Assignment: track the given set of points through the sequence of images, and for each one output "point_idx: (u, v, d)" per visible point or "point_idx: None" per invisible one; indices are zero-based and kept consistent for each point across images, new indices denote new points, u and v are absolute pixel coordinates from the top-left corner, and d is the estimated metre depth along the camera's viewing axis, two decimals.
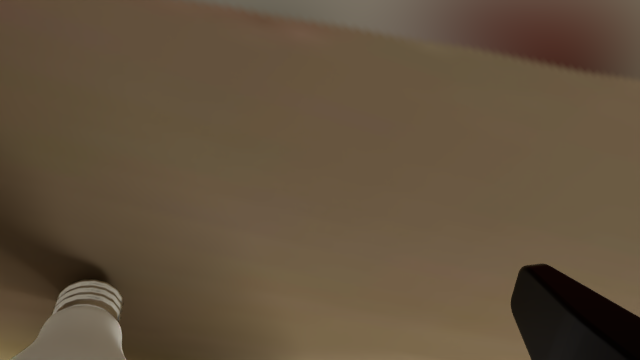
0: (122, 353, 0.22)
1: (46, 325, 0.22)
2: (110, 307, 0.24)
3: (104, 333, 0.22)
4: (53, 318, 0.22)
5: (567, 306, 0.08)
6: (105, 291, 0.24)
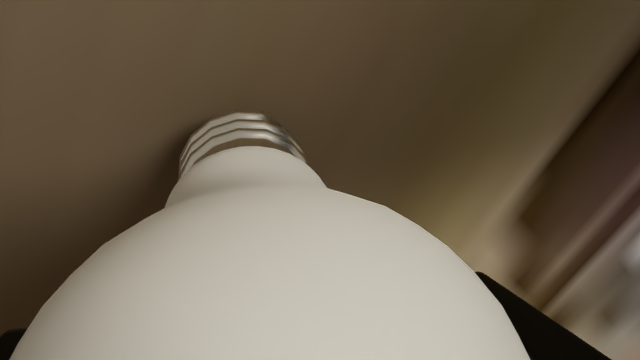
0: (207, 188, 0.08)
1: None
2: (214, 148, 0.11)
3: None
4: None
5: None
6: (192, 145, 0.11)
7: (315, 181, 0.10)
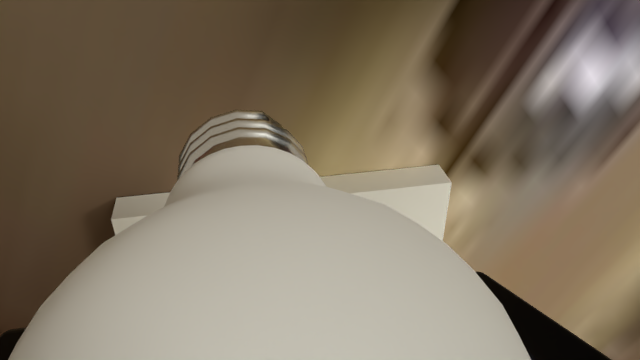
0: (207, 187, 0.08)
1: None
2: (213, 148, 0.11)
3: None
4: None
5: None
6: (192, 145, 0.11)
7: (315, 180, 0.09)
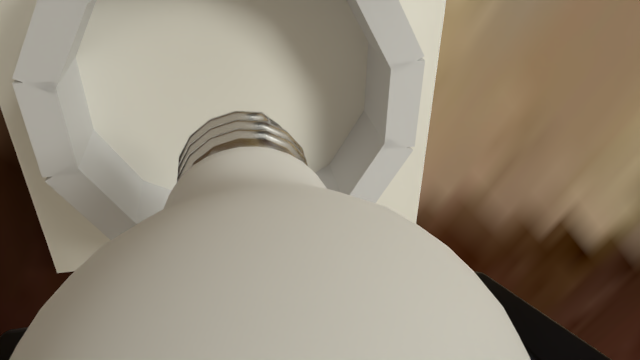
0: (206, 189, 0.08)
1: None
2: (213, 149, 0.11)
3: None
4: None
5: None
6: (191, 146, 0.11)
7: (315, 181, 0.09)
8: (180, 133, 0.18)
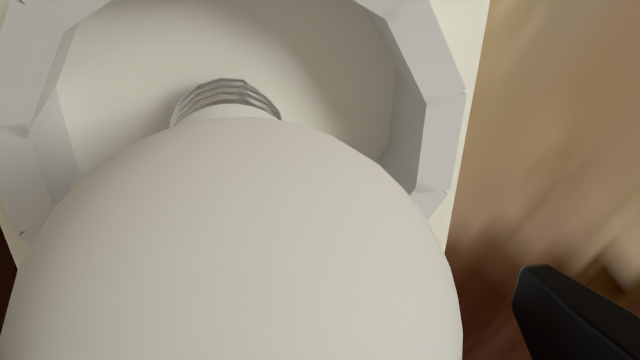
0: None
1: None
2: (199, 109, 0.12)
3: None
4: None
5: (568, 306, 0.08)
6: (181, 107, 0.13)
7: None
8: None
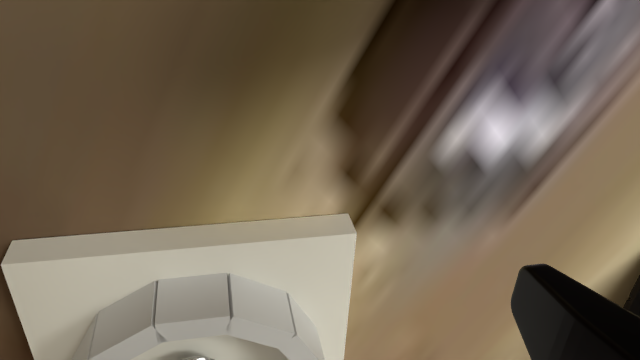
0: None
1: None
2: None
3: None
4: None
5: (567, 306, 0.08)
6: None
7: None
8: None
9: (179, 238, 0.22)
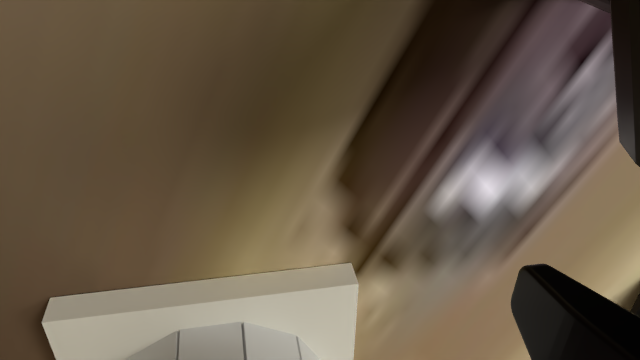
0: None
1: None
2: None
3: None
4: None
5: (567, 306, 0.08)
6: None
7: None
8: None
9: (197, 292, 0.24)
